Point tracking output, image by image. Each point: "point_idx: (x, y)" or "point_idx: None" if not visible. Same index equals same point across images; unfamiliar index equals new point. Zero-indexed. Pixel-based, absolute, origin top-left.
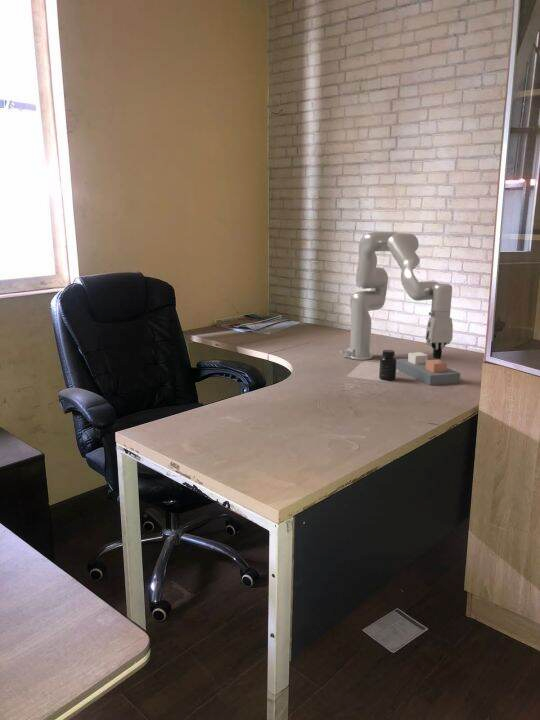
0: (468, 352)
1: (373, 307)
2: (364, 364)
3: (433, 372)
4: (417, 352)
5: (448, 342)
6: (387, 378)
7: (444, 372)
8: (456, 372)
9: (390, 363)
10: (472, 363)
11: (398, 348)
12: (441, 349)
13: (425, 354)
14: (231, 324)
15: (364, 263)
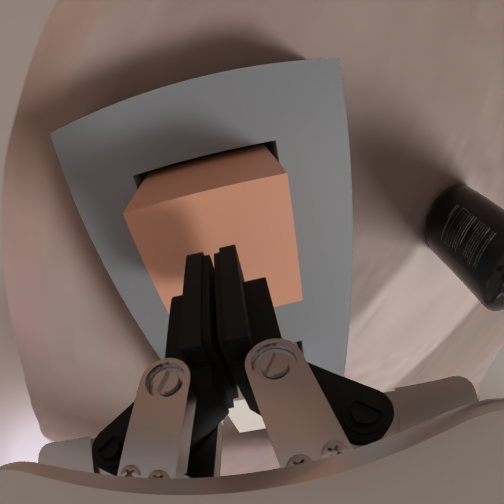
0: (60, 439)
1: None
2: (395, 375)
3: (268, 150)
4: (258, 428)
5: (58, 463)
6: (474, 190)
7: (168, 146)
8: (71, 152)
9: None
10: (33, 389)
11: (220, 467)
12: (170, 368)
13: (230, 411)
14: None
15: None
